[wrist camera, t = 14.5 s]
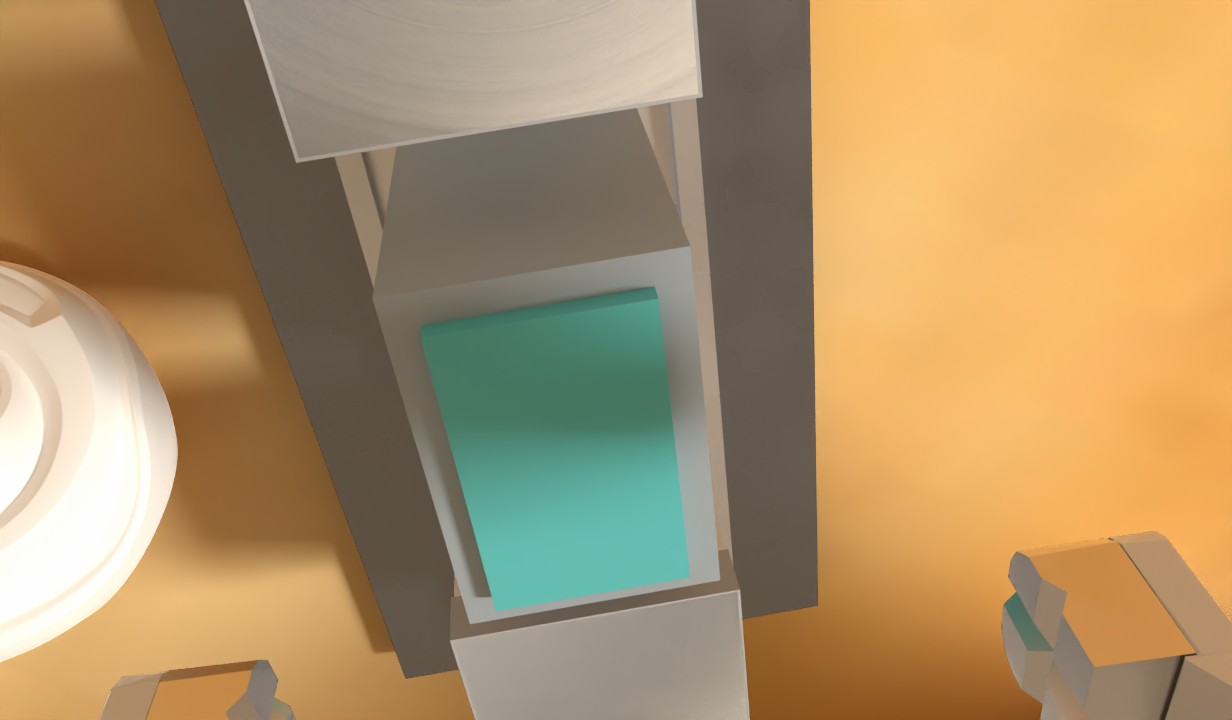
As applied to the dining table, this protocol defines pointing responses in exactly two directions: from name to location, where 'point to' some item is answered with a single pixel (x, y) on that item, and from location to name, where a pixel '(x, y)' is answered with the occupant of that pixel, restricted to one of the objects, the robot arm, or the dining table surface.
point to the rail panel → (723, 284)
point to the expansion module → (550, 362)
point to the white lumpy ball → (72, 456)
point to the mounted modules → (488, 101)
